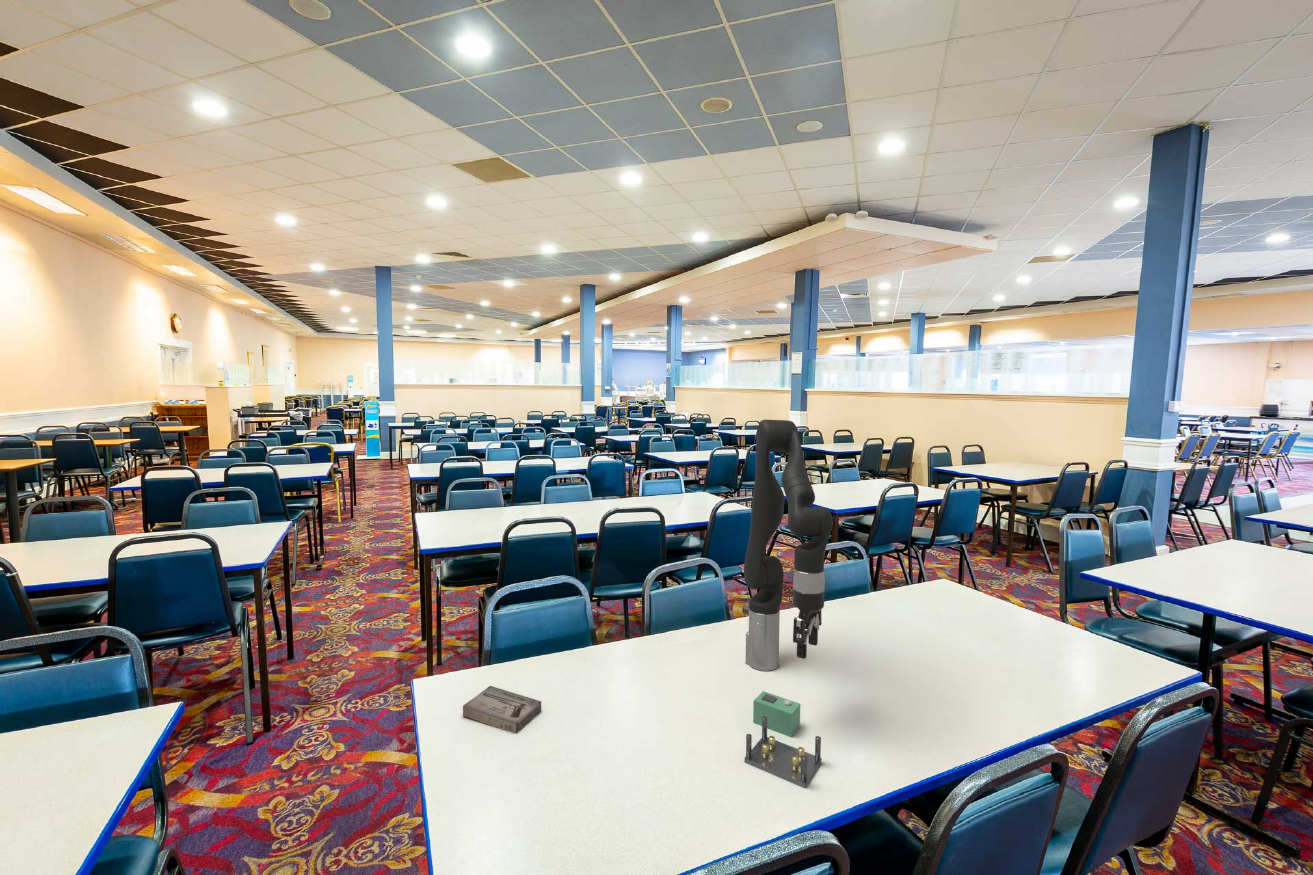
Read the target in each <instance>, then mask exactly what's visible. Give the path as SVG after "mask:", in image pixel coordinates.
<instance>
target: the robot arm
mask: <svg viewBox="0 0 1313 875" xmlns="http://www.w3.org/2000/svg"><path fill="white" fill-rule="evenodd" d="M756 430H757V431H756V435H755V436H756V437H755V438H756V439H755V440H756V442H755V471H754V472H755V475H754V483H753V492H752V501H751V510H750V511H751V513H750V528H749V535H748V536H749V537H748V542H747V546H746V552H745V557H744V558H745V559H744V561H743V562H744V563H743V579H744V582H745V584H746V586H747V588H749V589H751V590H759V591H758V592H757V593H755V594H754V595H752V596H751V597H750V598H749V601H748V631H747V632H745V664H747V665H748V666H750V667H751V668H752V669H755V670H757V671H763V672H767V671H769V672H770V671H774V670H777V669H778V668H779V666H780V622H781V620H780V613H781V612H780V611H781V604H782V603H783V602H782V601H783V593H784V592H783V591H784V576H785V575H784V574H785V573H784V568H783V563H782V562H781V560H780V558H778V557H777V556H775V555H767V556H765V553H766V549H767V546H768V544H769V542H770V540H771V539H772V537H773V535H775V533H776V531H777V530H778V528H779V526H780V525H781V524H782V521H783V518H784V511H785V510H784V507H785V497H786V500H787V527H788V530H789V531H790V532H791V533H792V534H793V535H794V536H796V537H812V538H811V539H810V540H809V541H807V542H804V543H801V544H797V545H796V546H795V549H794V563H793V564H794V569H793V576H792V605H793V606H794V607H795V608H796V609H798V610H799V612H798V614H797V617H795V616H794V618H793V628H792V629H793V631H792V633H793V634H792V643H795V644H796V657H797V658H798V659H803V660H806V658H807V655H808V653H807V652H808V651H807V650H808V648H807V646H808V644H809V645H811V646H817V645H818V641H819V640H818V639H819V635H818V634H819V630H820V626H822V610H823V608H824V606H825V585H826V582H825V580H826V579H825V570H824V569H825V554H826V548H827V546H828V541H829V539H830V536H831V533H832V529H833V522H834V520H833V516H832V514H831V512H830V510H829V509H828V508H826V507H824V506H812V505H813V504H814V503H815V501H816V494H815V491H814V488H813V486H812V483H811V481H810V478H809V476H808V473H807V470H806V465H805V459H804V453H803V448H802V443H801V439H800V434H799V431H798V428H797V425H796V424H795V422H793V421H792V420H787V419H783V420H782V419H762V420H760V421H759V423H758V426H757V429H756ZM772 452H773V453H787V455H788V460H787V463H786V465H785V467H784V469H783V471H782V475H781V485H780V483H779V481H778V479H777V478H776V476H775V473H774V472H773V470H772V466H771V463H770V462H771V459H770V457H771V453H772ZM781 486H782V487H781ZM782 488H783V489H782Z"/></svg>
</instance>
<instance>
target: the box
mask: <svg viewBox="0 0 1313 875" xmlns="http://www.w3.org/2000/svg"><path fill="white" fill-rule="evenodd" d="M540 713H542V701H541V700H538V699H535V698H532V697H528V696H526V695H522V694H518V693H515V692H511V691H509V690H505V689H501V688H499V687H496V686H492V685H489V686H488V687H486V688H485V689H484V690H482V691H481V692H480V693H478V694H477V695H476V696H475V697H473V698H472V699H470V700H468V701H467V702H466V703H464V704H463V705H462V716H463V717H466V718H469V719H471V720H475V721H477V722H480V723H482V724H483V723H484V724H486V725H489V726H492V727H494V728H497V729H500V730H503V731H506V732H509V733H512V734H517V733H518V732H520V731H521V730H522V729H523V728H524V727H525V725H527V724H528V723H530V722H531V721H532V720H533V719H534V718H536V717H537V715H538V714H540Z"/></svg>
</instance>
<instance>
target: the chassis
mask: <svg viewBox="0 0 1313 875" xmlns="http://www.w3.org/2000/svg"><path fill="white" fill-rule="evenodd" d="M745 735H746V737H745V756H744V763H745V764H747V765H750V766H753V767H756V768H757V769H759V770H762V771H764V772H765V773H769V774H770V775H773V776H776V777H778V778H780V779H783V780H786V781H787V782H789V783H792V784H795V785H797V786H800V787H802V788H803V789H806V787H807V786H808V785H809V783H810V781H811V780H812V778H813V776H814V775H815V773H816V772H817V771H818V769H819V767H820V766H821V764H822V762H823V761H822V756H821V755H822V753H821V752H822V751H821V750H822V737H821V736H820V735H816V736H815V740H814V741H815V742H814V744H815V746H814V754H812V753H810V752H807V751H806V750H805V748H804V747H801V746H799V747H798V748H796V747H794V746H791V745H789V744H786V743H784V742H781V741H779V740H776V737H775V736H773V735H769V736H768V728H767V717H762V726H761V738H760V739H759V740H758V742H757V743H756V744H755V745H754V746H752V743H753V741H752V740H753V739H752V737H753V736H752V734H751V733H747V734H745Z"/></svg>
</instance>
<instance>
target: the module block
mask: <svg viewBox="0 0 1313 875" xmlns="http://www.w3.org/2000/svg"><path fill="white" fill-rule="evenodd" d="M752 709H753V712H752V713H753V714H752V716H753V718H752V719H753V720H752V723H753V724H755V725H758V726H760V727H762V717H767V730H771V731H773V732H776V733H778V734H781V735H783V736H786V737H788V738H792V737H793V736H794V735H795V734H796V733H797V731H798V730H799V729H800V727H801V703H800V702H796V701H794V700H791V699H788V698H785V697H782V696H779V695H776V694H773V693H770V692H767V691H765V690H762V692H761V693H759V694H758V696H757V697H756V698H754V699H753V707H752Z"/></svg>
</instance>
